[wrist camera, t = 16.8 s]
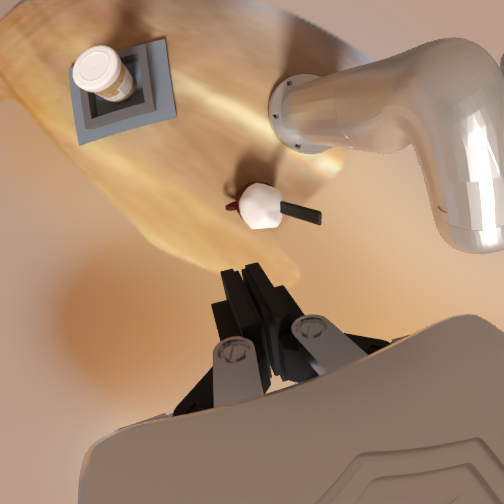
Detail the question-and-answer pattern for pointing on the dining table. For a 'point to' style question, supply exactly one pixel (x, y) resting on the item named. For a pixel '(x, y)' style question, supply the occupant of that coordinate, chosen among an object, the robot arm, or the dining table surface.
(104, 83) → the sprinkles bottle
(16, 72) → the dining table surface
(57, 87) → the dining table surface
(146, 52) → the bottle stand
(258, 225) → the cocoa
